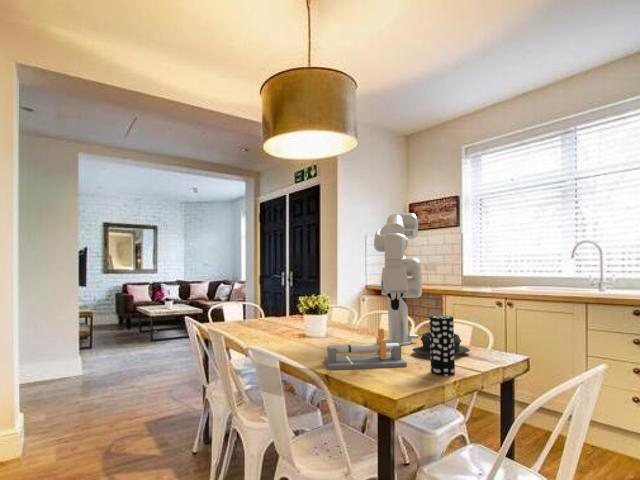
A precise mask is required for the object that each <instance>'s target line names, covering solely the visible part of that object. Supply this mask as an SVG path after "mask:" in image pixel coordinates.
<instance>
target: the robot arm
mask: <svg viewBox="0 0 640 480" xmlns="http://www.w3.org/2000/svg"><path fill="white" fill-rule="evenodd" d="M418 234H419V221H418V217H417V216H416V214H415V213H413V212H412V213H411V212H402V213H400V212H398V213H397V212H395V213H392V214H390V215H389V216H388V217H387V220H386V224H384V225H383V226H382V227H380V228H378V229H377V230H376V231H375V234H374V239H373V246H374V249H375V251H376V252H378V253H384V267H382V270H381V277H380V278H381V280H380V290H381V295H382V296H385V297H386V299H387V312H388V313H387V316H388V317H387V318H388V321H387V322H388V329H387V330H388V338H386V339H385V340H386V343H399V345H400V346H406V345H411V344H412V340H413V339H414V340H419V335H418V334H410V333H409V324H408V323H409V315H408V314H409V313H408V311H409V310H408V309H409V308H408V306H407V305H408V304H407V303H406V302H405V301H404V300H403V299H404V298H409V299H410V298H411V299H412V298H413V299H414V298H415V299H416V298H420V297H421V296H422V294H423V281H422V280H423V278H422V265H421V264H422V263H421V261H420V259H419V258H417V257H407V256H406V250H407V249H408V248H409V240H414V239H416V238H417V237H418ZM408 277H409V278H408Z"/></svg>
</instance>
